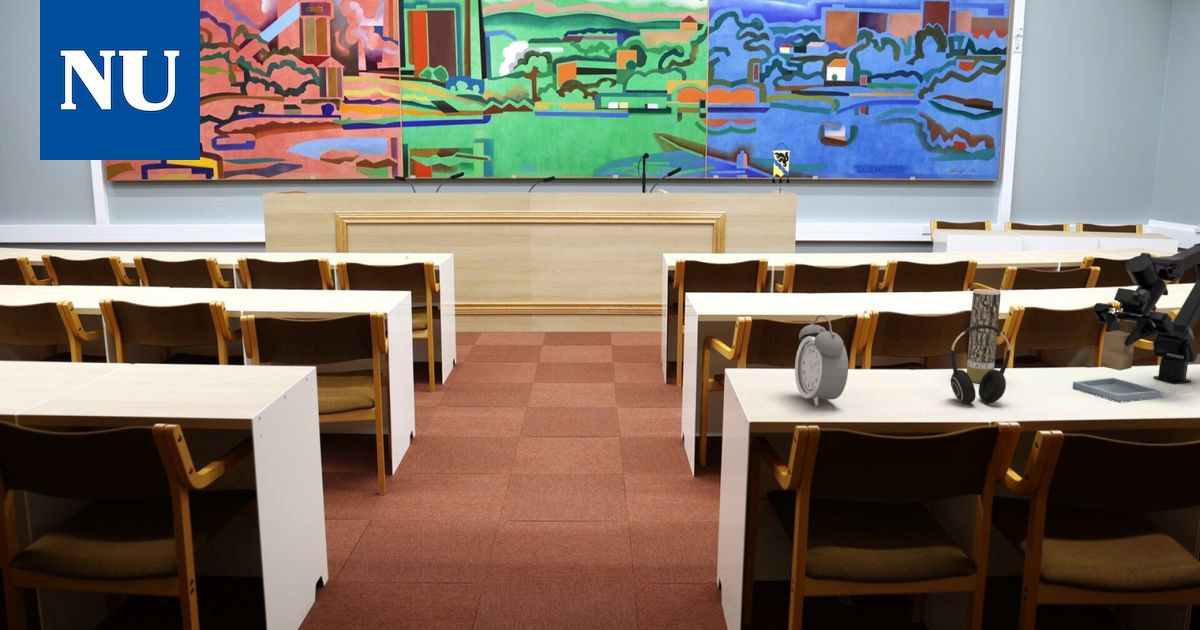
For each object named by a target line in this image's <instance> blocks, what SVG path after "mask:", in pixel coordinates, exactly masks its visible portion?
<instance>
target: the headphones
mask: <svg viewBox="0 0 1200 630" xmlns="http://www.w3.org/2000/svg"><path fill="white" fill-rule="evenodd" d="M975 329H991V330H994V331H996V332H997V334H1000V335H1001V336H1002V337H1003V339H1004V340H1005V342H1006V346H1007V349H1006V352H1005V353H1006V354H1005V357H1004V360H1003V363H1002V365H1001V366H1000V369H994V370H990V371H988V372H987V373H986V374H985V375H984V376H983V378H982V379H981V382H980V383H979V386H978V396H979V398H980V400H981V401H982V402H984V403H986V404H994V403H995V402H997V401H998V400H1000V399H1002V397H1003V396H1004V394H1005V391H1006V388H1007V381H1006V377H1005V375H1004V374H1005V372H1006V370H1007V367H1008V363H1009V360H1010V356H1011V352H1012V351H1011V345H1010V342H1009V340H1008V338H1007V336H1005V334H1004V333H1003V332H1002V331H1001V329H999V328H996V327H994V326H991V325H985V324H980V325H974V326H971V327H970V326H969V327H967V328H966V329H965V330H963V332H961V333H960V334H959V335H958V336H957V337H956V339H955V340H954V341H953V343H952V346H951V350H950V361H951V366H952V370H953V372H952V374H951V377H950V387H951V389H952V392H953V394H954V396H955V397H956V398H957V400H958V401H960V402H962V403H963V404H972V403H973V402H974V401H975V399H976V398H977V397H976V395H977V394H976V393H977V392H976V389H975V385H974V382H972V380H971V378H970V377H969V375H968V374H967V371H965V370H963V369H958V366H957V362H956V359H955V355H956V354H955V347H956V343H957V342H958V340H960V338H961V337H962V336H964V335H965V334H968V333H970V331H971V330H975Z"/></svg>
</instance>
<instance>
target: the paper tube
mask: <svg viewBox="0 0 1200 630" xmlns="http://www.w3.org/2000/svg"><path fill="white" fill-rule="evenodd" d="M1001 294H1002V293H1001V290H997V289H991V288H990V289H989V288H987V289H986V288H976V289H973V290H972V299H971V301H972V302H971V314H970V326H969V327H971V326H974V325H980V324H985V325H991V326H994V327H996V328H998V327H999V315H1000V308H1001V307H1000V306H1001V305H1000V304H1001V296H1002V295H1001ZM998 329H999V328H998ZM997 338H998V332H996V331H994V330H991V329H975V330H971V331H969V337H968V349H967V350H968V351H967V361H966V362H967V363H966V373H967V374H968V375H969V377H970V378H971V380H972V382H973V383H977V384H980V382H981V379H982V378H983V376H984V375H985V374H986V373H987V372H988V371H990V370H995V363H996V353H997V352H996V350H997V340H998V339H997Z"/></svg>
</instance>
